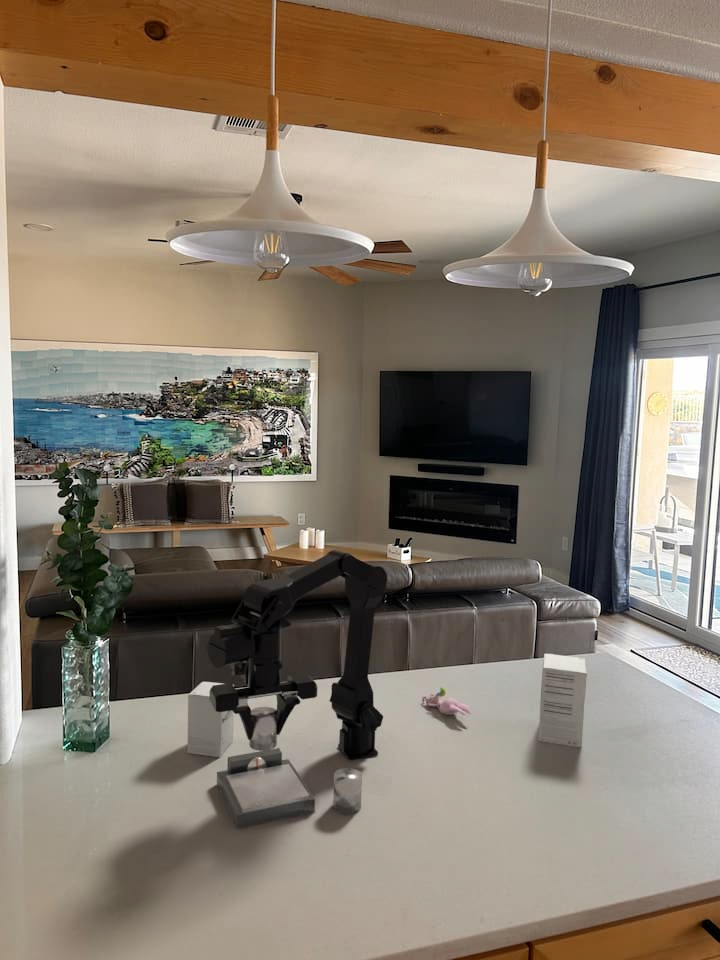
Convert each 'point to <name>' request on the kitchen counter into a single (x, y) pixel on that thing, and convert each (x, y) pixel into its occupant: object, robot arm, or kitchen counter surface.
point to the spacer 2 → (347, 791)
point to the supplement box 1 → (207, 724)
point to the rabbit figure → (446, 704)
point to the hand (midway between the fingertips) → (263, 736)
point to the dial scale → (263, 789)
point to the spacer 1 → (263, 728)
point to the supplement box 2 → (562, 700)
